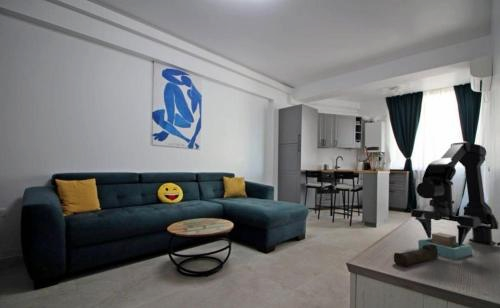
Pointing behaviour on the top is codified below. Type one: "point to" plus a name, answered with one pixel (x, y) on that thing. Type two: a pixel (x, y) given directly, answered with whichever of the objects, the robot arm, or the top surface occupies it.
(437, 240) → the walnut block
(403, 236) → the top surface
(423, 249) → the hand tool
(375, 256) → the top surface
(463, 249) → the tray
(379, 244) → the top surface
